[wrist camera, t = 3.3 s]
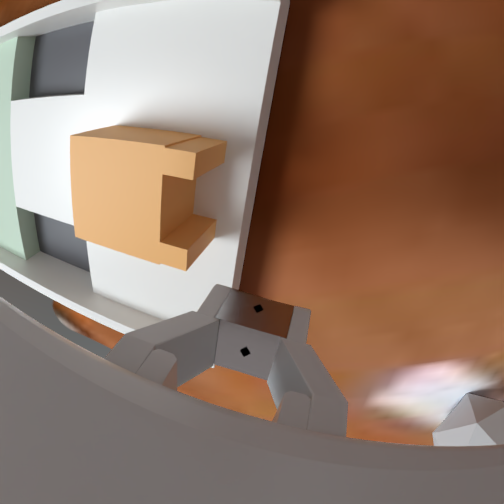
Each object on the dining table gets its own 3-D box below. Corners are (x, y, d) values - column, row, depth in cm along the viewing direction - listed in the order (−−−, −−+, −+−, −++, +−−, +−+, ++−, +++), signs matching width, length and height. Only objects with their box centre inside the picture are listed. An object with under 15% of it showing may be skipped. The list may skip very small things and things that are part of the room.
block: (115, 125, 17) (70, 135, 13) (227, 139, 15) (196, 150, 12) (113, 212, 19) (75, 236, 16) (214, 239, 18) (186, 273, 15)
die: (412, 410, 26) (421, 491, 20) (466, 398, 18) (474, 500, 13) (467, 388, 26) (476, 462, 21) (520, 369, 19) (530, 458, 14)
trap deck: (-14, 49, 18) (-58, 56, 12) (290, 1, 13) (267, -46, 7) (-7, 233, 30) (-42, 255, 24) (232, 329, 25) (204, 388, 19)
